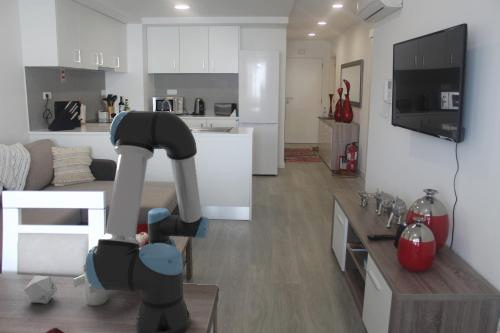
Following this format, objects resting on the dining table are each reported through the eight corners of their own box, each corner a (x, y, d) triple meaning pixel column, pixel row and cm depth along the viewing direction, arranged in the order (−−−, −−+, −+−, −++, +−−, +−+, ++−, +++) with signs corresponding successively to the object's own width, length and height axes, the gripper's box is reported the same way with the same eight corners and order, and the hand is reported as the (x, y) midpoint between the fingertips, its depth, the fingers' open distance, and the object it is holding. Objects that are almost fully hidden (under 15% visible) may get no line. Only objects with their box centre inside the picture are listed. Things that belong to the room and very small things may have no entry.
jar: (113, 298, 135) (111, 264, 132) (94, 308, 129) (92, 272, 126) (99, 292, 138) (97, 258, 136) (81, 301, 133) (78, 266, 130)
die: (33, 313, 127) (52, 286, 127) (13, 295, 129) (32, 269, 129) (49, 308, 135) (67, 283, 136) (30, 292, 137) (48, 267, 137)
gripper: (159, 277, 143) (103, 307, 124) (121, 262, 153) (63, 288, 134) (159, 256, 141) (101, 283, 122) (120, 243, 151) (61, 266, 132)
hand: (81, 286), depth 128 cm, fingers closed on jar, 6 cm apart
